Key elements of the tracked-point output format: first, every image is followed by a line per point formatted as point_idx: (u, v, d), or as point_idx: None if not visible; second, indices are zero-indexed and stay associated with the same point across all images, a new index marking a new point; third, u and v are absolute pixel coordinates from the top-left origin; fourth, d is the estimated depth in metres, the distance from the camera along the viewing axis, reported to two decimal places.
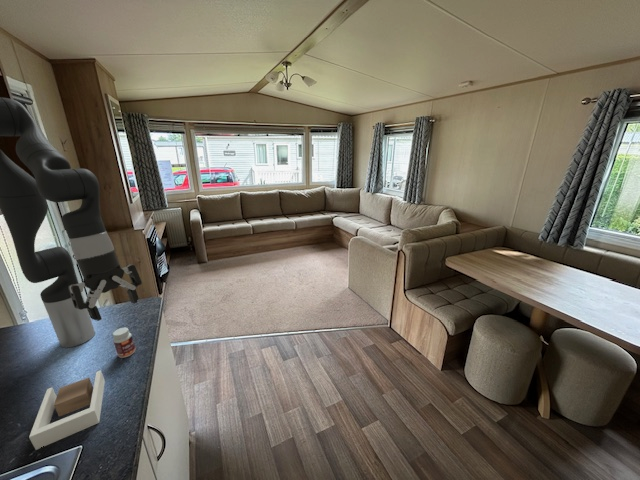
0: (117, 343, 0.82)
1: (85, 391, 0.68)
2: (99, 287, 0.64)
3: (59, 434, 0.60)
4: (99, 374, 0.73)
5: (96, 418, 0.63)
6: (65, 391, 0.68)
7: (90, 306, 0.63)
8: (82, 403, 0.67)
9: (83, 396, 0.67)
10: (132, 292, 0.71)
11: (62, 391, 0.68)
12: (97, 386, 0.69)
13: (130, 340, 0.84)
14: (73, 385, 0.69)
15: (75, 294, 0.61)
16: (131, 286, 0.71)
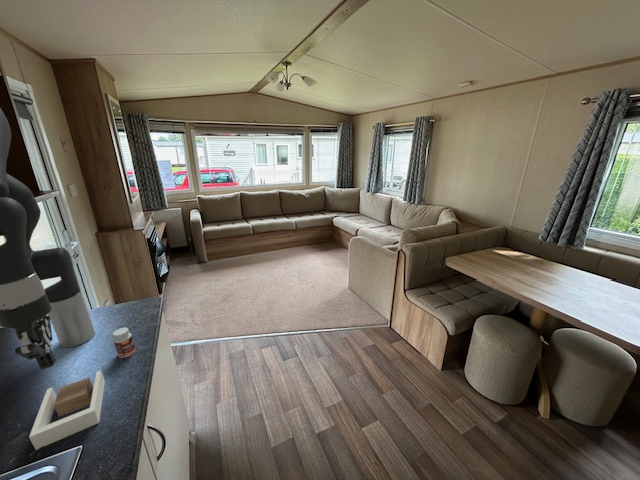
0: (117, 343, 0.82)
1: (85, 391, 0.68)
2: (43, 333, 0.56)
3: (59, 434, 0.60)
4: (99, 374, 0.73)
5: (96, 418, 0.63)
6: (65, 391, 0.68)
7: (48, 350, 0.57)
8: (82, 403, 0.67)
9: (83, 396, 0.67)
10: (50, 350, 0.59)
11: (62, 391, 0.68)
12: (97, 386, 0.69)
13: (130, 340, 0.84)
14: (73, 385, 0.69)
15: (37, 349, 0.53)
16: (48, 343, 0.58)
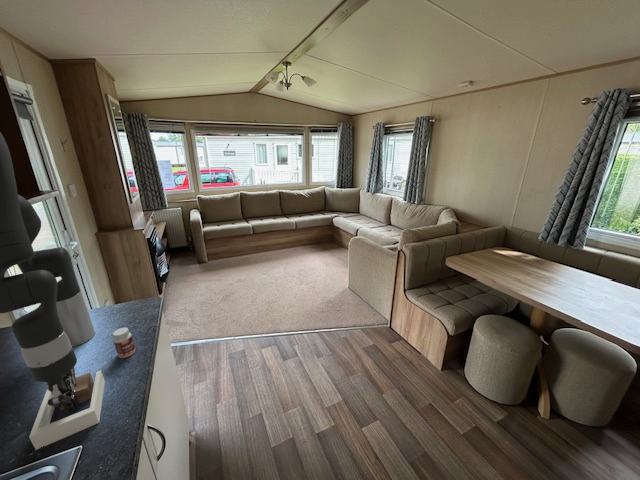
0: (117, 343, 0.82)
1: (86, 385, 0.69)
2: (70, 383, 0.63)
3: (59, 434, 0.60)
4: (99, 374, 0.73)
5: (96, 418, 0.63)
6: None
7: (73, 397, 0.65)
8: (83, 398, 0.69)
9: (85, 390, 0.69)
10: (75, 396, 0.66)
11: None
12: (97, 386, 0.69)
13: (130, 340, 0.84)
14: None
15: (66, 399, 0.61)
16: (73, 390, 0.66)
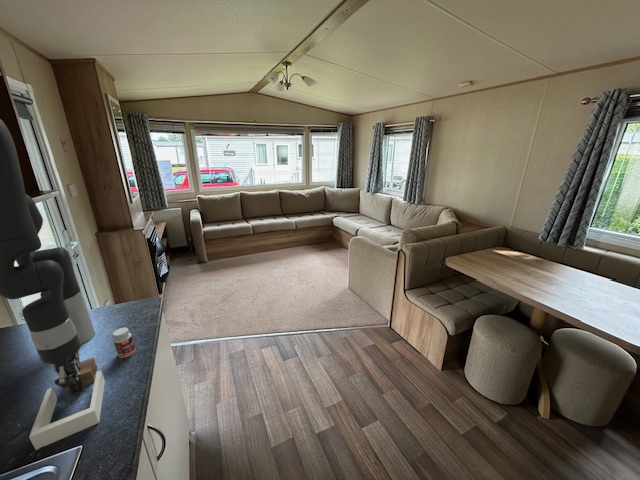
0: (117, 343, 0.82)
1: (90, 369, 0.74)
2: (75, 366, 0.68)
3: (59, 434, 0.60)
4: (99, 374, 0.73)
5: (96, 418, 0.63)
6: None
7: (78, 379, 0.70)
8: (87, 380, 0.74)
9: (88, 373, 0.74)
10: (79, 378, 0.71)
11: None
12: (97, 386, 0.69)
13: (130, 340, 0.84)
14: None
15: (71, 380, 0.66)
16: (78, 373, 0.71)
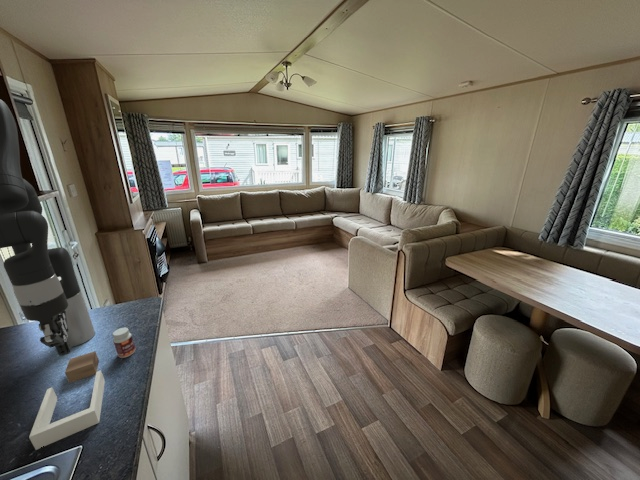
0: (117, 343, 0.82)
1: (92, 362, 0.77)
2: (62, 325, 0.65)
3: (59, 434, 0.60)
4: (99, 374, 0.73)
5: (96, 418, 0.63)
6: (75, 361, 0.77)
7: (65, 340, 0.67)
8: (89, 372, 0.77)
9: (90, 366, 0.76)
10: (67, 340, 0.68)
11: (72, 361, 0.77)
12: (97, 386, 0.69)
13: (130, 340, 0.84)
14: (81, 357, 0.79)
15: (57, 339, 0.63)
16: (65, 334, 0.68)
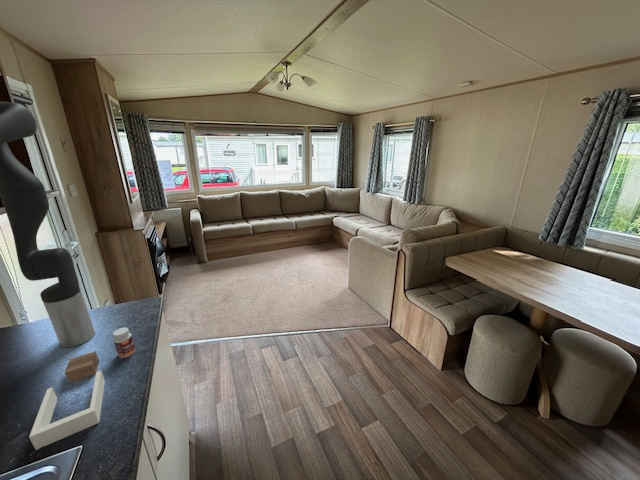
0: (117, 343, 0.82)
1: (91, 362, 0.77)
2: None
3: (59, 434, 0.60)
4: (99, 374, 0.73)
5: (96, 418, 0.63)
6: (75, 361, 0.77)
7: None
8: (88, 373, 0.77)
9: (90, 366, 0.76)
10: None
11: (72, 361, 0.77)
12: (97, 386, 0.69)
13: (130, 340, 0.84)
14: (81, 357, 0.79)
15: None
16: None
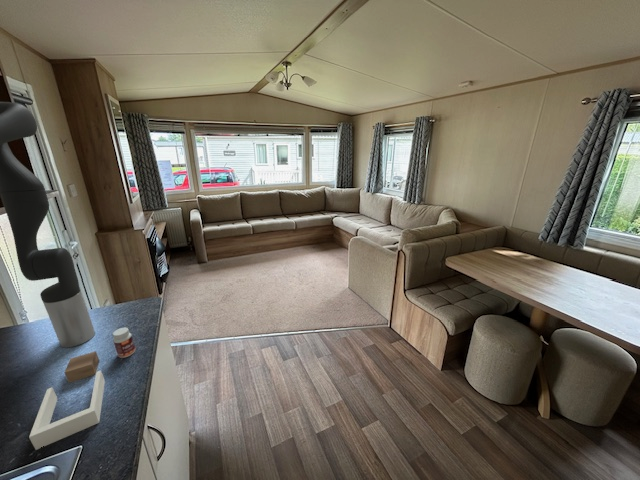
0: (117, 343, 0.82)
1: (91, 362, 0.77)
2: None
3: (59, 434, 0.60)
4: (99, 374, 0.73)
5: (96, 418, 0.63)
6: (75, 361, 0.77)
7: None
8: (88, 373, 0.77)
9: (89, 366, 0.76)
10: None
11: (72, 361, 0.78)
12: (97, 386, 0.69)
13: (130, 340, 0.84)
14: (81, 357, 0.79)
15: None
16: None
